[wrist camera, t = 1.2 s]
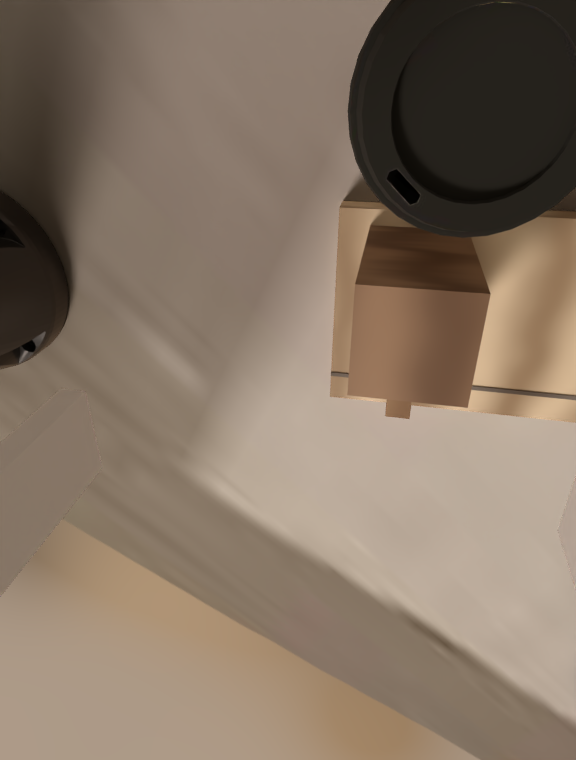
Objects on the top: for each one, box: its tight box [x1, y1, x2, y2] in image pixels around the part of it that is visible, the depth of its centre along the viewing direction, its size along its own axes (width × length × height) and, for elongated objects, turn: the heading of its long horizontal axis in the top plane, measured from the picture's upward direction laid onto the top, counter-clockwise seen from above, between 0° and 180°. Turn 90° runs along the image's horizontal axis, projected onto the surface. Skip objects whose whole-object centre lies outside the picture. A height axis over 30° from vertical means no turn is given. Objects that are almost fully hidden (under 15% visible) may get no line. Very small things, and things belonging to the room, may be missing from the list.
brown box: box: [347, 225, 491, 419], centre depth 32 cm, size 6×12×11 cm, turn 0°
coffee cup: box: [348, 0, 576, 238], centre depth 25 cm, size 10×10×15 cm
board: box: [330, 201, 576, 422], centre depth 36 cm, size 26×14×2 cm, turn 90°
